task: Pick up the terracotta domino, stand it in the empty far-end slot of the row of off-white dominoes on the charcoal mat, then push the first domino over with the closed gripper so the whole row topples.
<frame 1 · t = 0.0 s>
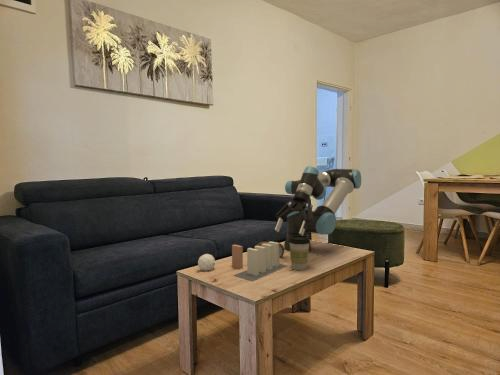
hand: (288, 232, 158), 16 cm above the table, tool tilted 35°, fingers open, 13 cm apart
domino 4: (253, 274, 146), point 1 cm above the table, touching mat
domino 1: (273, 265, 157), point 1 cm above the table, touching mat
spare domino: (237, 269, 155), on the table
tin: (269, 258, 171), on the table
domino 2: (267, 268, 153), point 1 cm above the table, touching mat
mat: (261, 272, 151), on the table
geometric ball: (206, 271, 154), on the table
domino 3: (260, 271, 150), point 1 cm above the table, touching mat
coffee cup: (299, 269, 154), on the table, touching gripper
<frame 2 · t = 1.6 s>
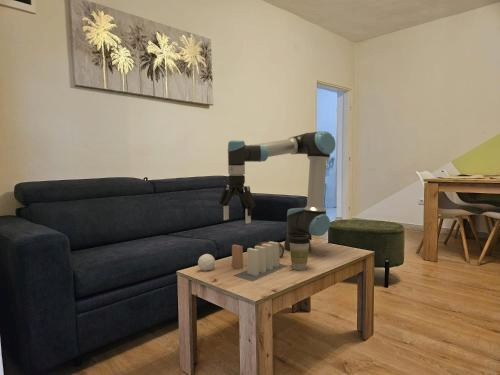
hand: (236, 221, 153), 22 cm above the table, tool pointing down, fingers open, 13 cm apart
coffee cup: (299, 269, 154), on the table
everything else where it was.
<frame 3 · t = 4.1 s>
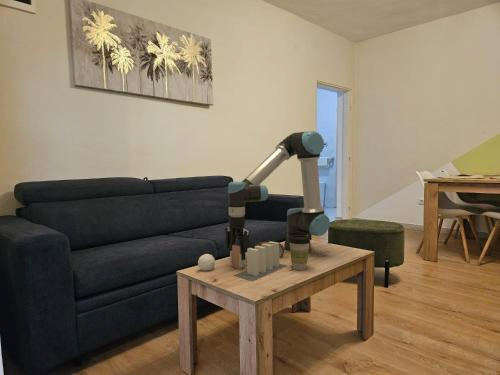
hand: (237, 265, 155), 2 cm above the table, tool pointing down, fingers closed on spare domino, 5 cm apart
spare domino: (237, 269, 155), on the table, touching gripper
everything else where it was.
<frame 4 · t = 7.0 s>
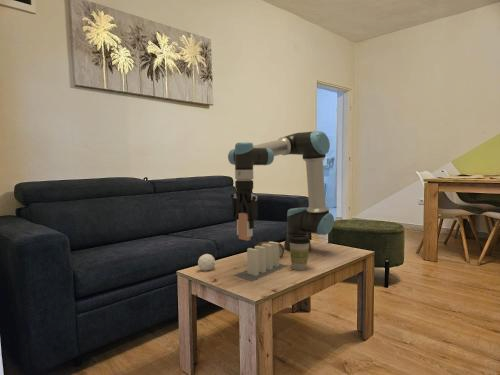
hand: (244, 235, 141), 19 cm above the table, tool pointing down, fingers closed on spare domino, 5 cm apart
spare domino: (244, 239, 141), point 17 cm above the table, touching gripper
everything else where it was.
when the fingers open (4 cm above the table, at t = 10.0 s): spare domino drops 1 cm, resting on mat.
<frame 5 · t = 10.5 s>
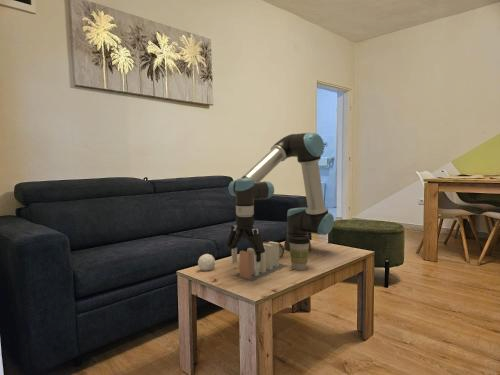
hand: (245, 266, 142), 6 cm above the table, tool pointing down, fingers open, 12 cm apart
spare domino: (245, 277, 142), point 1 cm above the table, touching mat
everything else where it was.
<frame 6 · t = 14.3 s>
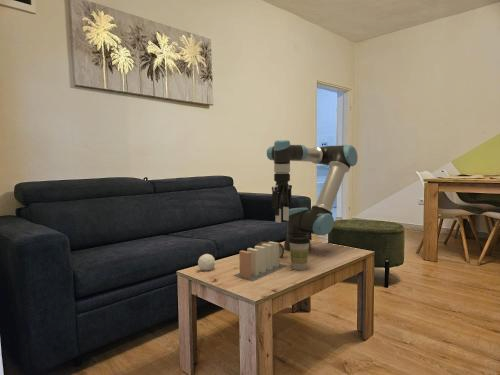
hand: (282, 221, 161), 21 cm above the table, tool pointing down, fingers open, 6 cm apart
nothing on the table moved.
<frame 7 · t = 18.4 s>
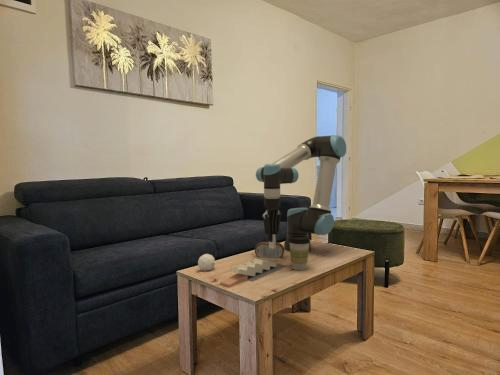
hand: (272, 248, 156), 9 cm above the table, tool pointing down, fingers closed
domino 4: (250, 273, 145), point 2 cm above the table, tilted 69°, touching domino 3, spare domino
domino 1: (272, 264, 156), point 2 cm above the table, tilted 69°, touching domino 2, mat
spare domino: (243, 275, 141), point 2 cm above the table, tilted 94°, touching domino 4, mat
domino 2: (265, 267, 152), point 2 cm above the table, tilted 69°, touching domino 1, domino 3, mat
domino 3: (258, 270, 148), point 2 cm above the table, tilted 69°, touching domino 2, domino 4, mat
everything else where it was.
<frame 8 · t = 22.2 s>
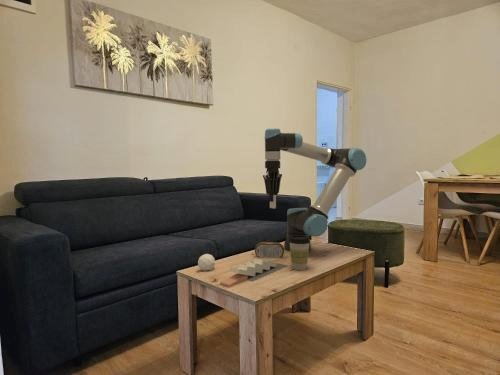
hand: (272, 207, 166), 26 cm above the table, tool pointing down, fingers closed
nothing on the table moved.
at the end: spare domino tilted 94°; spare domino inside the target area (2.5 cm from its centre), point 1.7 cm above the table; domino 4 tilted 69° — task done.
